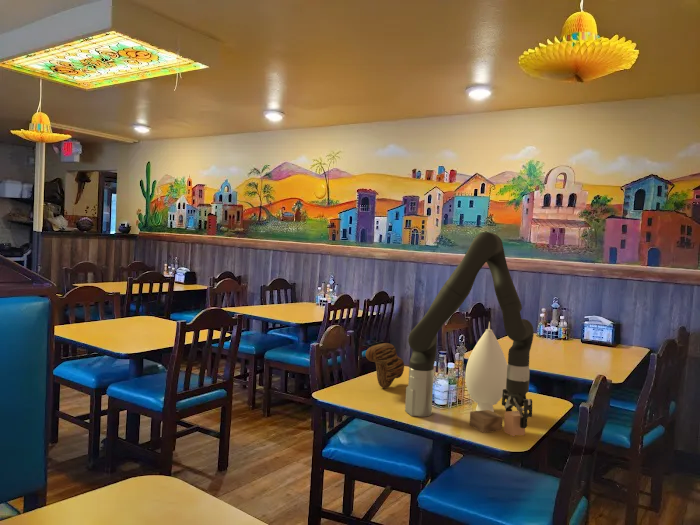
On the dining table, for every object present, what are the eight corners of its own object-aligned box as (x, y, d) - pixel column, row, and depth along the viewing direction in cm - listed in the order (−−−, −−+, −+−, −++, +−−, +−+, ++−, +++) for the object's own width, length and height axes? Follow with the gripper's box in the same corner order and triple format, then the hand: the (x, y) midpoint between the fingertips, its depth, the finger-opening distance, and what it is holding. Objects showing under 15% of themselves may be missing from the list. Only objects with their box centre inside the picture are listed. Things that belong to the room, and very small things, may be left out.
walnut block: (482, 433, 189) (483, 419, 189) (469, 425, 197) (470, 411, 197) (501, 430, 192) (502, 416, 192) (488, 423, 200) (488, 409, 200)
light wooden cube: (512, 436, 187) (513, 416, 187) (503, 431, 192) (504, 411, 191) (524, 435, 188) (525, 415, 188) (516, 430, 193) (517, 410, 193)
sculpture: (391, 381, 252) (393, 337, 251) (406, 384, 247) (408, 340, 246) (359, 393, 230) (361, 346, 229) (375, 397, 226) (377, 349, 225)
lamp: (456, 410, 213) (461, 320, 211) (475, 401, 225) (480, 317, 223) (494, 420, 203) (499, 326, 201) (512, 411, 215) (517, 322, 213)
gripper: (496, 372, 195) (494, 417, 196) (521, 383, 181) (518, 431, 182) (514, 371, 197) (513, 416, 198) (540, 382, 184) (538, 429, 184)
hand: (515, 423), depth 190 cm, fingers open, 8 cm apart
